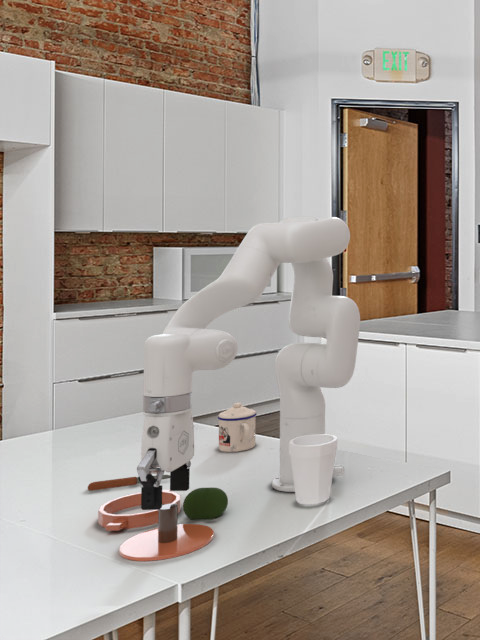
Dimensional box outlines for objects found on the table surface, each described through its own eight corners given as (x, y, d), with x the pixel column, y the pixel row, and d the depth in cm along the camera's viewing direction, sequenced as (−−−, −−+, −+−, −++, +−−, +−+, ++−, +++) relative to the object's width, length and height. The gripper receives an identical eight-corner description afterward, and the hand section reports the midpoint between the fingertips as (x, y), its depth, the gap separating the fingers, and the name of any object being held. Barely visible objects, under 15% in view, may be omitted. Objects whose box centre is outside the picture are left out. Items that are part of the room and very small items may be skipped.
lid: (227, 529, 139) (227, 491, 139) (190, 563, 125) (190, 521, 125) (147, 531, 138) (147, 493, 138) (100, 565, 124) (100, 523, 124)
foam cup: (322, 490, 161) (322, 431, 161) (345, 500, 155) (346, 439, 155) (280, 502, 153) (280, 440, 153) (303, 513, 147) (303, 449, 147)
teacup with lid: (212, 447, 193) (212, 403, 192) (248, 440, 199) (249, 397, 199) (228, 457, 184) (229, 411, 184) (266, 450, 191) (266, 405, 190)
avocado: (233, 512, 148) (233, 482, 148) (219, 524, 142) (220, 493, 142) (191, 513, 147) (191, 483, 147) (176, 525, 141) (176, 494, 141)
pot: (199, 499, 155) (199, 485, 155) (150, 536, 136) (151, 520, 136) (131, 501, 154) (131, 487, 154) (73, 538, 135) (73, 522, 135)
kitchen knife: (87, 493, 158) (87, 483, 158) (88, 491, 159) (88, 482, 159) (171, 482, 166) (171, 473, 166) (172, 480, 167) (172, 471, 167)
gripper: (164, 414, 123) (162, 516, 123) (211, 393, 140) (209, 483, 140) (117, 414, 122) (116, 517, 122) (170, 394, 140) (168, 484, 140)
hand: (166, 499), depth 131 cm, fingers open, 9 cm apart
